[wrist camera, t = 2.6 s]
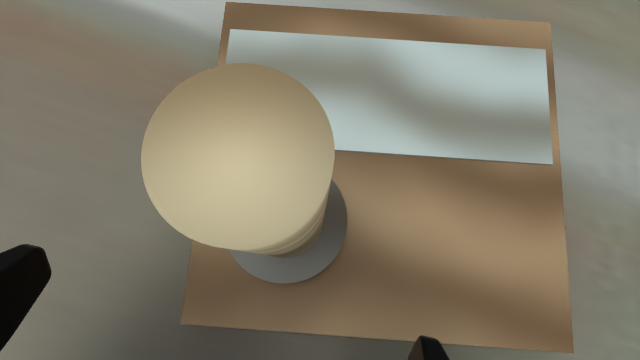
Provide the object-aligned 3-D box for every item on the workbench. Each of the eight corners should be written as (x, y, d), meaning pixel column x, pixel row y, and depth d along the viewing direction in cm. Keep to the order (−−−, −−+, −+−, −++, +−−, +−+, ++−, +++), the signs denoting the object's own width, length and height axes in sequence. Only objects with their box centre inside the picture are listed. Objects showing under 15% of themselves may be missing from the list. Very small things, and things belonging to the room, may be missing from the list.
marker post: (341, 286, 18) (393, 330, 6) (223, 277, 18) (44, 305, 6) (347, 170, 19) (400, 21, 7) (236, 163, 19) (110, 1, 7)
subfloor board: (557, 347, 18) (576, 354, 17) (189, 320, 19) (178, 324, 17) (538, 35, 22) (552, 20, 21) (230, 15, 22) (225, -1, 21)
